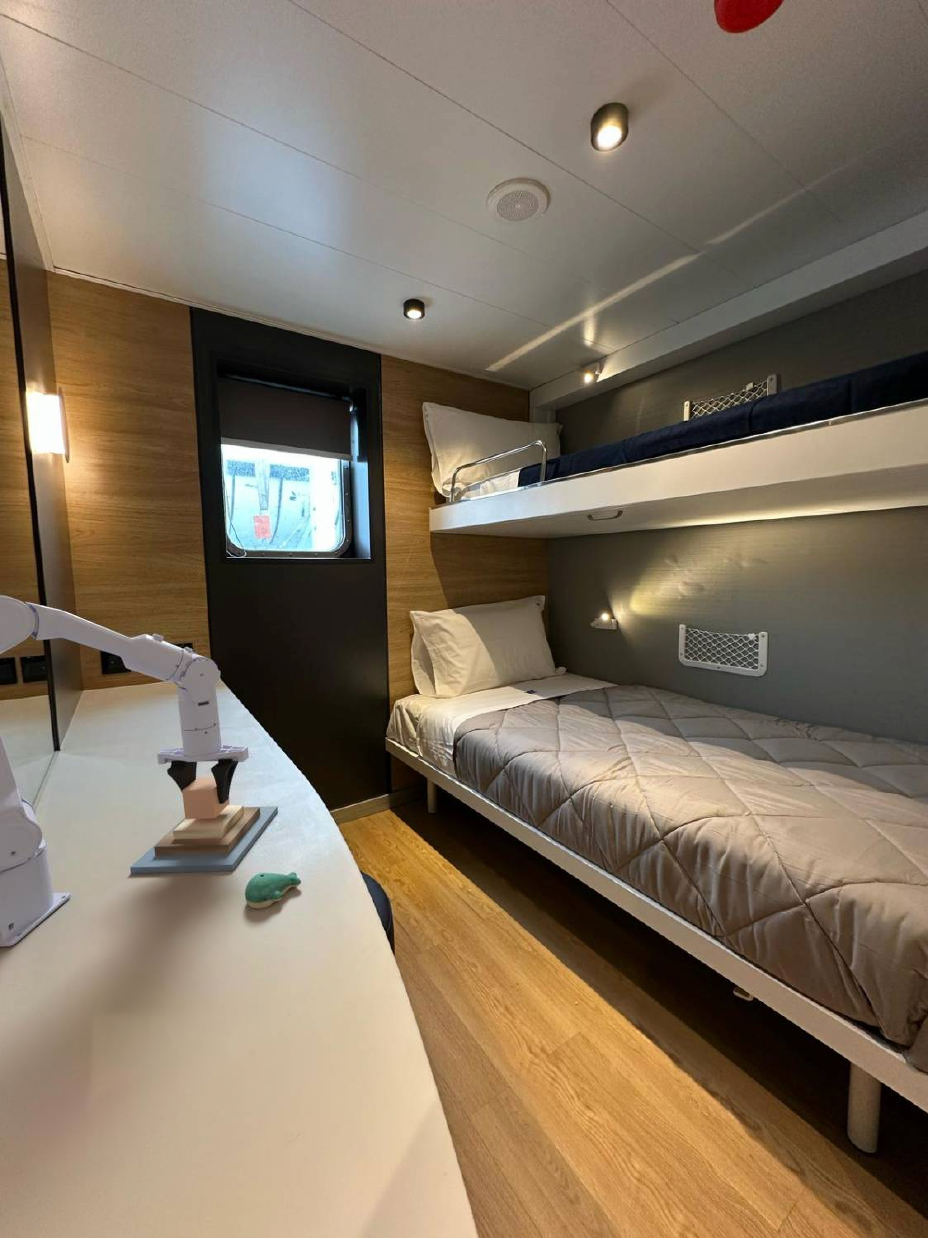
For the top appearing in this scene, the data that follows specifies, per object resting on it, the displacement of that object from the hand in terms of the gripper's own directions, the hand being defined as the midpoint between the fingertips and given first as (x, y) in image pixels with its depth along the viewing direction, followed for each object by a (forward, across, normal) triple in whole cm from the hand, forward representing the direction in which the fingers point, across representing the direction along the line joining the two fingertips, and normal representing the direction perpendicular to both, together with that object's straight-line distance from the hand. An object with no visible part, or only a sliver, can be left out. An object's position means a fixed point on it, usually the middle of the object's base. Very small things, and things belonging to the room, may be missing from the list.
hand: (208, 801), depth 84 cm
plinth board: (+7, 0, 0) cm, 7 cm away
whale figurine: (+7, -17, +15) cm, 23 cm away
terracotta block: (+2, 0, 0) cm, 2 cm away
